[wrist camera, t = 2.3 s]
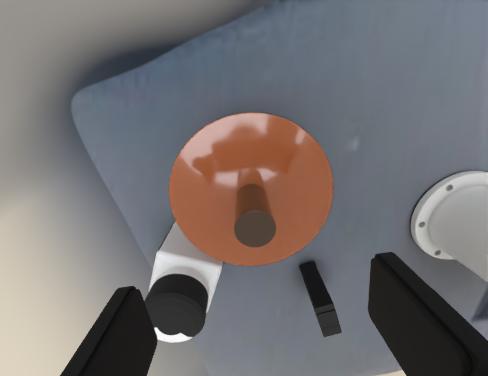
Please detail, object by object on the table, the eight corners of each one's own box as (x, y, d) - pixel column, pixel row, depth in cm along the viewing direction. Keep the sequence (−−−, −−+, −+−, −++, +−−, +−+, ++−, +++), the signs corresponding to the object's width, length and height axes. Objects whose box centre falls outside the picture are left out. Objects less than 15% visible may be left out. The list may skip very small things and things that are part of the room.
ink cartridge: (321, 285, 35) (343, 335, 27) (306, 289, 35) (324, 340, 27) (313, 259, 33) (335, 305, 26) (298, 263, 33) (315, 310, 26)
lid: (327, 99, 17) (371, 97, 12) (329, 248, 22) (361, 300, 16) (154, 124, 18) (112, 134, 12) (191, 265, 22) (173, 322, 17)
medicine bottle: (174, 219, 31) (136, 286, 19) (226, 232, 31) (218, 304, 20) (165, 262, 33) (125, 344, 22) (213, 273, 34) (200, 358, 22)
